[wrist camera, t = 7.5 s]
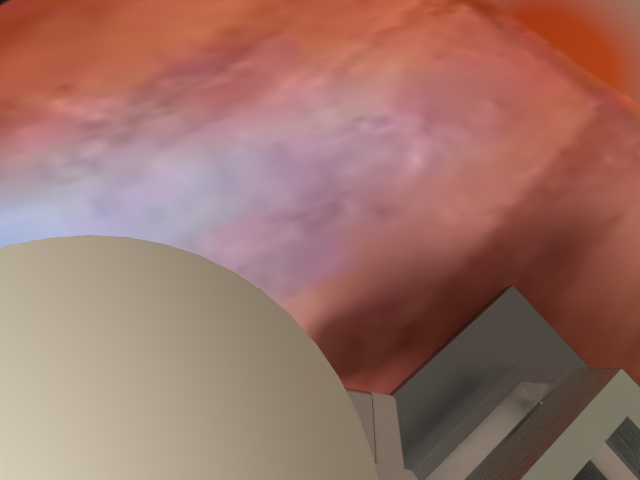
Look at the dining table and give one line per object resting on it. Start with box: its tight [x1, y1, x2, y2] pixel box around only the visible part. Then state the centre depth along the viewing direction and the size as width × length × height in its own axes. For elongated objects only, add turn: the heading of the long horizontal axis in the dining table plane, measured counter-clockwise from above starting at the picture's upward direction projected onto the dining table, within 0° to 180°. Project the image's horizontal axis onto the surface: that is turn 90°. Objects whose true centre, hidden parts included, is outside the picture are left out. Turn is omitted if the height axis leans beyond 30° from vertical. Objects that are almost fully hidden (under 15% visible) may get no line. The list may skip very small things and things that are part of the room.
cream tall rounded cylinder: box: [0, 235, 379, 480], centre depth 10 cm, size 4×4×16 cm
